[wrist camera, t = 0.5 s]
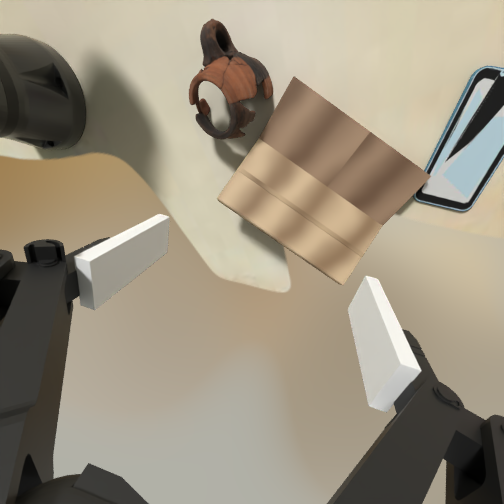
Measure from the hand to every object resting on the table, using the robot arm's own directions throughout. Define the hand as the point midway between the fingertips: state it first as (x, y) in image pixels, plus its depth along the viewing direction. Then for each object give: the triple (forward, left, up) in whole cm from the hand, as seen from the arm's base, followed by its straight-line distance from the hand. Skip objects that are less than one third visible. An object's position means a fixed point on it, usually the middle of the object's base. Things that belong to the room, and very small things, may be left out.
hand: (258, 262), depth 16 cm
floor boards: (+2, +8, -23) cm, 25 cm away
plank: (+2, -1, -21) cm, 21 cm away
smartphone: (+14, +17, -24) cm, 33 cm away
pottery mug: (-14, +7, -24) cm, 29 cm away
